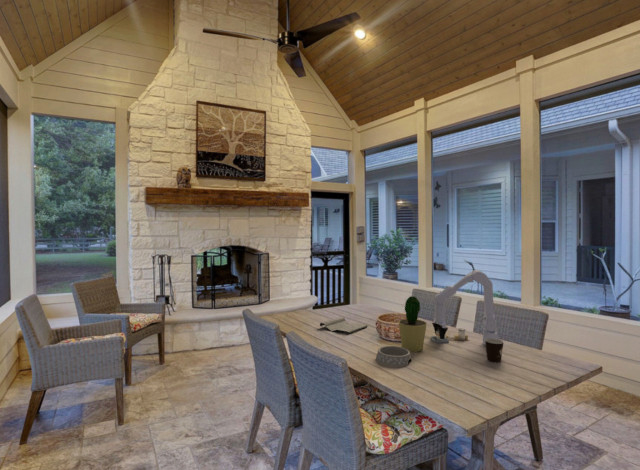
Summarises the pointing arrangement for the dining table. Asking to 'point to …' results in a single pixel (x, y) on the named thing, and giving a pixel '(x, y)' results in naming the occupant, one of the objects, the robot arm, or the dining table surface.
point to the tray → (439, 340)
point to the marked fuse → (438, 335)
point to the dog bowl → (393, 356)
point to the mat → (342, 325)
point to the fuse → (461, 334)
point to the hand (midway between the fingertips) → (439, 336)
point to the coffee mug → (494, 350)
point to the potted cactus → (412, 327)
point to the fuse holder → (457, 338)
